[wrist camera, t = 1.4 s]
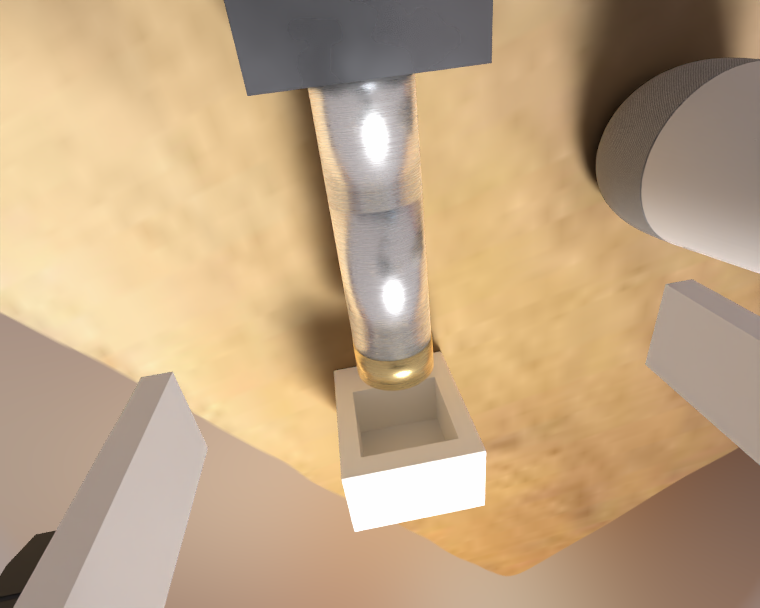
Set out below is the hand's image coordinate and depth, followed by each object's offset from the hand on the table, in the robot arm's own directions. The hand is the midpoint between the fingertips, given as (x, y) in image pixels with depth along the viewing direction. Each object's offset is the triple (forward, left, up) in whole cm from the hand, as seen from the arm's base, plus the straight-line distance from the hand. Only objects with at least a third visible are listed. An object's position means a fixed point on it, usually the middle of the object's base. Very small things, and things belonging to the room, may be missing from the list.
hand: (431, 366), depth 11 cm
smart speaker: (-1, +18, -16) cm, 24 cm away
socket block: (+15, 0, -16) cm, 22 cm away
